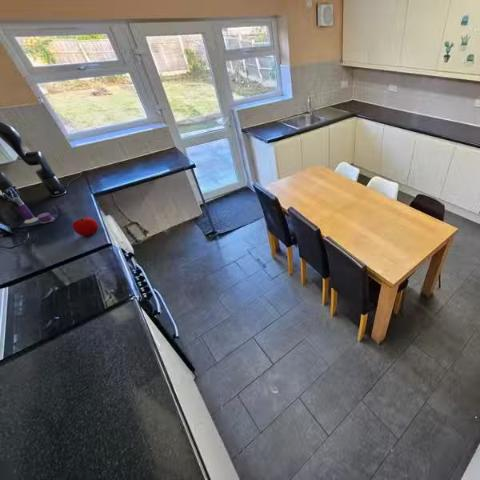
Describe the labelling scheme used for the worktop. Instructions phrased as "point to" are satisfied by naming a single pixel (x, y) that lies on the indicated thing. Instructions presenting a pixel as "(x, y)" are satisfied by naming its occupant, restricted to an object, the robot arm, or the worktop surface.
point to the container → (23, 209)
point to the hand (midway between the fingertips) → (18, 204)
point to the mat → (36, 221)
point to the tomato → (85, 226)
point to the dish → (45, 217)
